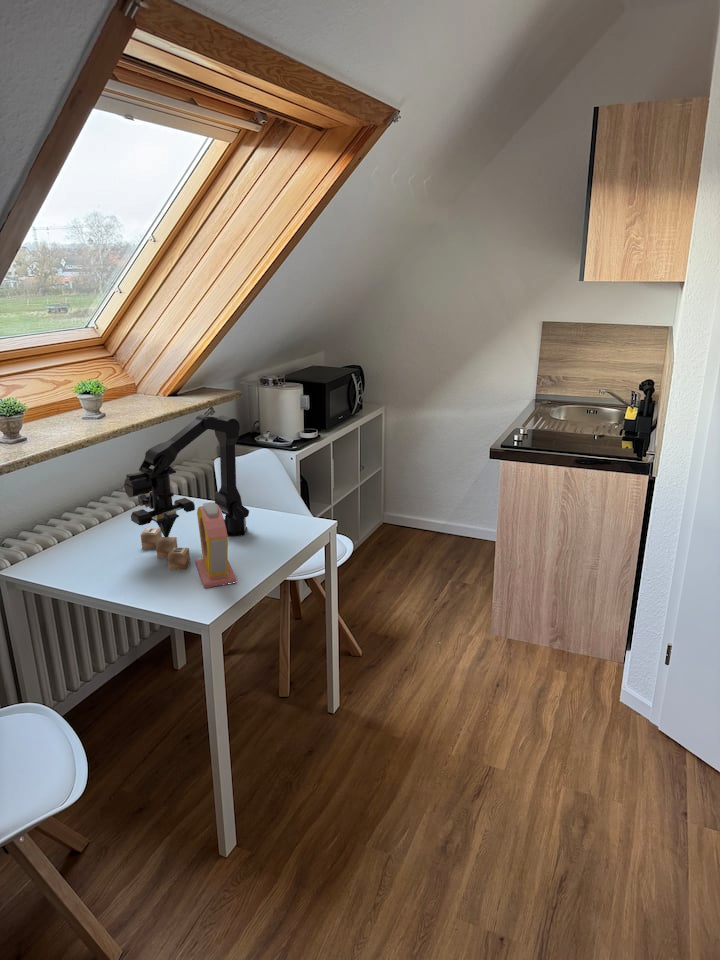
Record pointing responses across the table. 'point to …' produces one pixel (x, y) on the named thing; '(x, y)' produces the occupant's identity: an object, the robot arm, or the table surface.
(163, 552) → the plain block
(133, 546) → the table surface
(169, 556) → the numbered block
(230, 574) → the pink yellow upright block
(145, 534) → the numbered block
